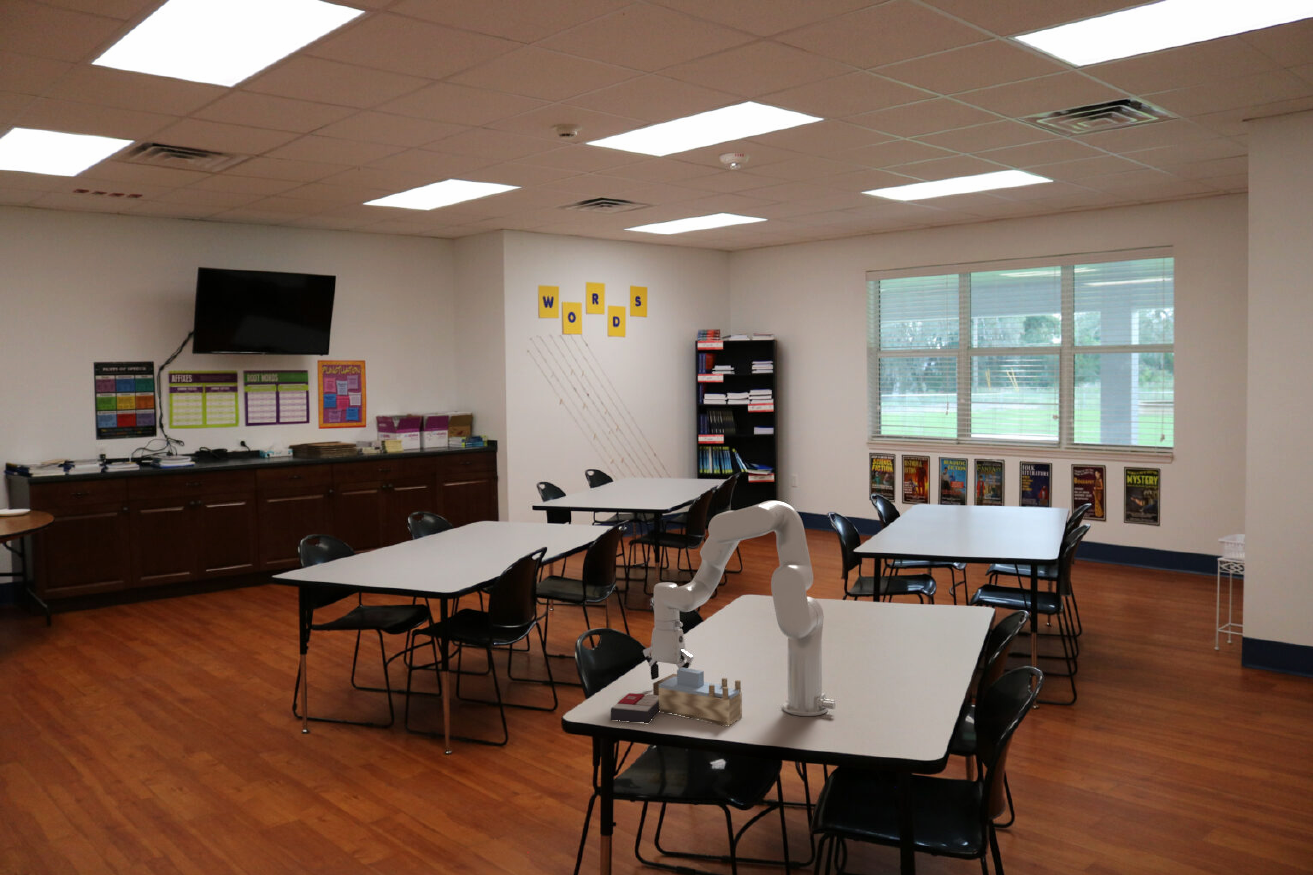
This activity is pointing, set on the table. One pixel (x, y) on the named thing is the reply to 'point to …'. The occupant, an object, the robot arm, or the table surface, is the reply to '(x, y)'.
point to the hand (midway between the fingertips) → (668, 680)
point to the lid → (694, 684)
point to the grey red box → (636, 708)
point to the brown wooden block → (656, 684)
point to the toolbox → (703, 704)
